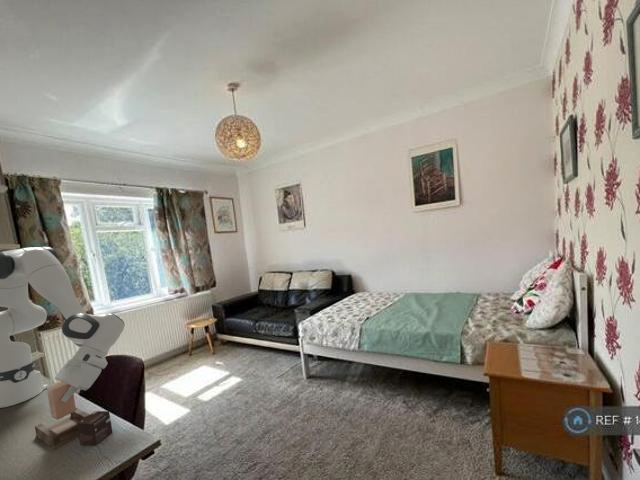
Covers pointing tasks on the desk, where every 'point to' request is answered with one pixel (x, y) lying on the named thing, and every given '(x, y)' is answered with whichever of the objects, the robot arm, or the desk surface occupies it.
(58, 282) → the robot arm
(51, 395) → the block
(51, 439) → the cradle
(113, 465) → the desk surface
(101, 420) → the box
